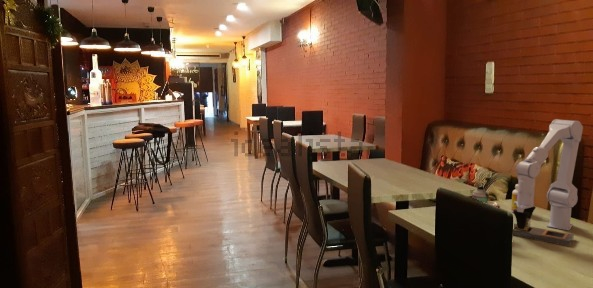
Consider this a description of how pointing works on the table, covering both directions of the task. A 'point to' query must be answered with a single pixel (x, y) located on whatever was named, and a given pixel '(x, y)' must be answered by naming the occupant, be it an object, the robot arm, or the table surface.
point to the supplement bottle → (514, 198)
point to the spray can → (480, 194)
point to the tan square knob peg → (526, 225)
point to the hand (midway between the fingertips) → (523, 226)
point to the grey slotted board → (545, 235)
